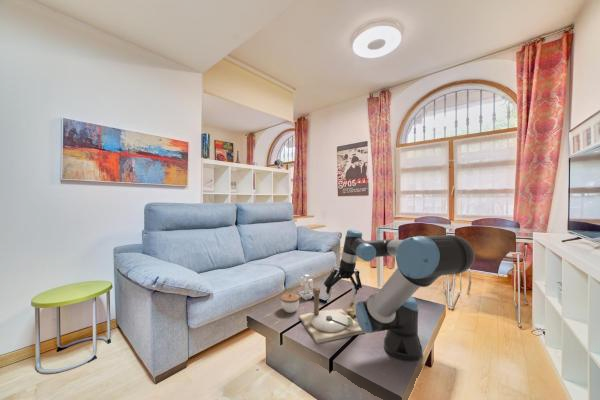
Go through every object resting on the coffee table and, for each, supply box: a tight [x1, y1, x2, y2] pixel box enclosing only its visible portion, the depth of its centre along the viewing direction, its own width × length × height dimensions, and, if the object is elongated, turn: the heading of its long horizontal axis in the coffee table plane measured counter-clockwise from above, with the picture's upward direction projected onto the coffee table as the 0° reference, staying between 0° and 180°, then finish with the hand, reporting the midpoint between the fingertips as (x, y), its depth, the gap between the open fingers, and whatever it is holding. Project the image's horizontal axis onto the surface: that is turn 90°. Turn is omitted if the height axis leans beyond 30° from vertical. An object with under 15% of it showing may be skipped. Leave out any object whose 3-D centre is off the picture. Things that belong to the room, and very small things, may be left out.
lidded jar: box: [280, 292, 300, 314], centre depth 138 cm, size 11×11×9 cm
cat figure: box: [346, 301, 356, 319], centre depth 136 cm, size 10×9×25 cm
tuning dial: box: [311, 287, 349, 332], centre depth 122 cm, size 21×19×15 cm
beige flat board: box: [298, 307, 366, 344], centre depth 122 cm, size 24×25×2 cm
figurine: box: [299, 273, 314, 301], centre depth 154 cm, size 7×9×15 cm
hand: (340, 299), depth 122 cm, fingers open, 13 cm apart
